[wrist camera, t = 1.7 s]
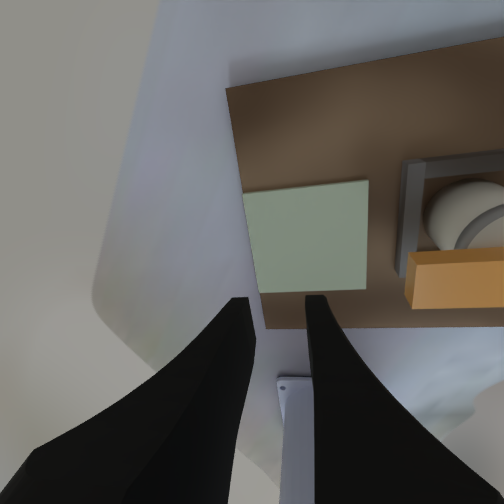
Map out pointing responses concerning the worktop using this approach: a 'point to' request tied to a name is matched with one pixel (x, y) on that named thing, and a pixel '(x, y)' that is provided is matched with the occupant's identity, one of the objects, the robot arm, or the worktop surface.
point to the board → (378, 162)
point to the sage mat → (309, 237)
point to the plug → (466, 215)
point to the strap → (455, 278)
